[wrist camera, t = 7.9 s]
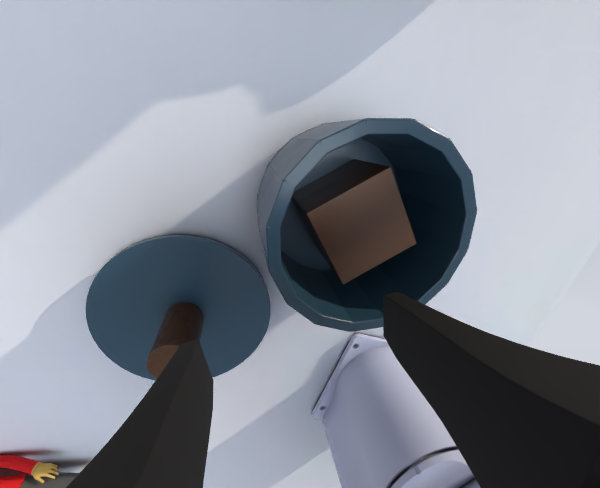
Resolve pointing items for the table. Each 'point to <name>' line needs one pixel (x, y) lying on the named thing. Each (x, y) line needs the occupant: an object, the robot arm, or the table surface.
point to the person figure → (33, 474)
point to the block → (355, 217)
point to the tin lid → (177, 304)
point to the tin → (417, 201)
